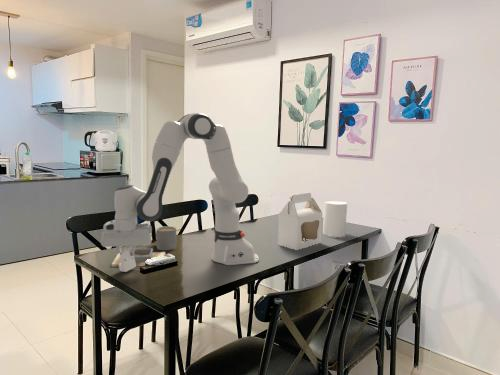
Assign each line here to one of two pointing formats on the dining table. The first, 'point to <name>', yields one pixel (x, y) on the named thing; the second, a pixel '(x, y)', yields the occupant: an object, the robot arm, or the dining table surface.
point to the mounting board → (117, 262)
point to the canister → (334, 218)
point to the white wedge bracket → (127, 260)
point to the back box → (143, 251)
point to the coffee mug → (166, 238)
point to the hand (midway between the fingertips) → (127, 255)
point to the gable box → (300, 223)
